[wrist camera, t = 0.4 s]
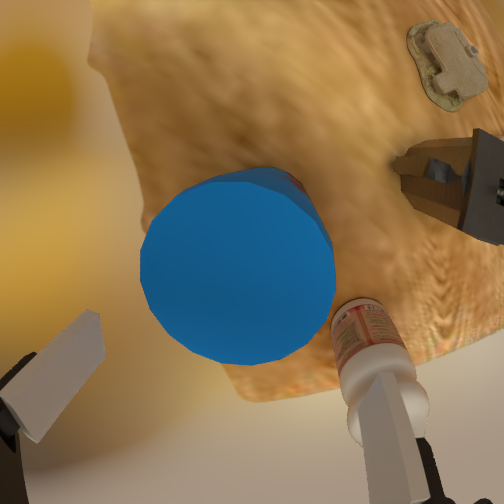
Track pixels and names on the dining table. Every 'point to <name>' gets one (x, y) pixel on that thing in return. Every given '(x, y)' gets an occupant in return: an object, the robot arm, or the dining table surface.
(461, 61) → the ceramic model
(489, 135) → the press body
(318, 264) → the thermos
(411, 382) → the fruit juice
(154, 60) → the dining table surface
